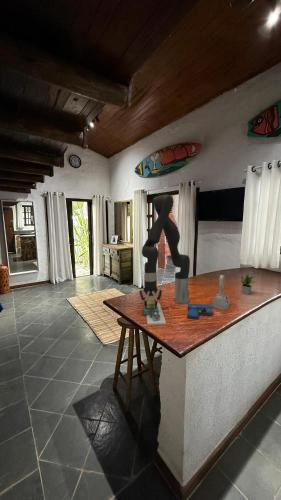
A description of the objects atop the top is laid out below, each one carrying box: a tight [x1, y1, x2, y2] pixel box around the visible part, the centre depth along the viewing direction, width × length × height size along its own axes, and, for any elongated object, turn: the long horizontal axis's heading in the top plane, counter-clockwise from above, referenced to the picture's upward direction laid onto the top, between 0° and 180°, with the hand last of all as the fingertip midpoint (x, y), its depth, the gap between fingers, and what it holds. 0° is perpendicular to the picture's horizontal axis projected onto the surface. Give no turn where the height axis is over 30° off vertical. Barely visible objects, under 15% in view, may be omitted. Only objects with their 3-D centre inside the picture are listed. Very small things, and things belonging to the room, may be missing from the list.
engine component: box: [212, 274, 230, 310], centre depth 137 cm, size 11×20×10 cm
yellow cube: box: [147, 297, 155, 309], centre depth 128 cm, size 5×5×5 cm
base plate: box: [145, 302, 167, 326], centre depth 129 cm, size 10×28×1 cm, turn 2°
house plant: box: [238, 272, 257, 296], centre depth 158 cm, size 14×14×16 cm
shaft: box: [149, 309, 160, 321], centre depth 121 cm, size 8×4×4 cm, turn 22°
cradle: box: [143, 305, 159, 316], centre depth 129 cm, size 8×8×3 cm
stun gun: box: [186, 302, 215, 320], centre depth 126 cm, size 4×16×15 cm
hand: (150, 306), depth 128 cm, fingers closed on yellow cube, 5 cm apart
